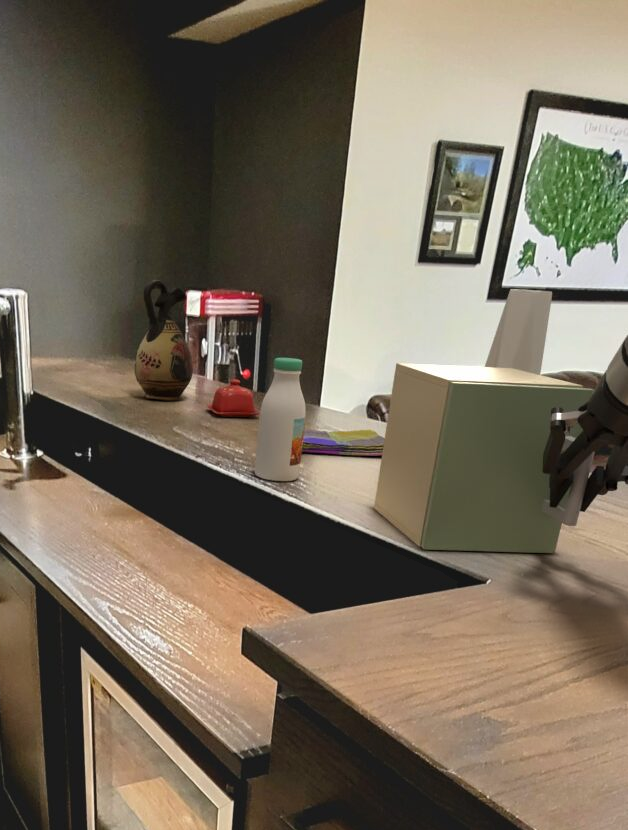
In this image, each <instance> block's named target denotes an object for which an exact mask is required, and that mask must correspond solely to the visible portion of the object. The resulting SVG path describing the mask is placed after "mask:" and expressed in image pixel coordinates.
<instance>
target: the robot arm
mask: <svg viewBox="0 0 628 830" xmlns="http://www.w3.org/2000/svg"><path fill="white" fill-rule="evenodd" d="M593 390H594V392H593V393H592V396H591V398H590V400H589V401H588V402H586V403H585V404H583V405H581V406H580V407H579V409H578V411H572V412H564V410H563V408H561V407H554V408H552V409H551V419H550V430H551V431H550V434H549V438H548V441H547V444H546V447H545V450H544V453H543V469H542V472H543V473H545V474H550V477H549V488H550V507H554V508H556V507H557V506H558V504H559V503H560V501H561V500H562V498H563V497H564V495H565V494H566V492H567V491H568V489H569V488H570V486H571V485H572V483H573V476H574V471H575V470H576V469H577V468H578V467H579V466H580V465H581V464H582V463H583V462H584V461H585V460H586V459H587V458H588V457H589V456H590V455H591V454H592V453H593V452H595V453H597V452H598V451H600V449H601V448H602V447H604V446H605V445H612V449H611V451H610V453H609V456H608V459H607V461H606V463H605V465H604V466H603V465H596V466H595V468H594V469H593V471H592V472H591V473H590V474H589V477H588V481H587V485H586V489H585V493H584V497H583V501H582V505H581V509H580V512H581V513H585V512H586V511H587V510H588V508H589V507H590V505H591V504H592V503H593V502H594V500H595V499H596V498H597V496H604V495H607V494H608V492H614V491H615V492H616V491H617V490H618V483H620V482H624V484H626V485H627V486H628V334H627V335H626V337H625V338H624V339H623V341H622V343H621V344H620V346H619V348H618V349H617V351H616V353H615V354H614V355H613V357H612V359H611V361H610V362H609V363H608V366H607V368H606V370H605V371H604V373H603V375H602V376H601V378H600V380H599V381H598V383H597V384H596V387H595V388H594V389H593ZM577 423H579V425H580V426H581V428H582V429H583V431H582V432H581V433H580V435H579V436H578V437H577V438H576V439H575V440H574V441H573V442H572V443H571V445H570V446H569V447H568V448H567V449H566V450H565V451H564V452H563V453H561V450H562V448H563V445H564V442H565V434H569V433H570V430H571V429H572V428H573V426H574V425H575V424H577ZM560 453H561V454H560Z"/></svg>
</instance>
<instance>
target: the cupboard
mask: <svg viewBox="0 0 628 830" xmlns="http://www.w3.org/2000/svg"><path fill="white" fill-rule="evenodd" d="M450 382H467V383H488V384H508V385H528V386H548V387H568V388H584V385H582V384H579V383H578V384H577V383H574V382H569V381H567V380H562V379H557V378H555V377H550V376H545V375H541V374H540V375H538V374H534V373H530V372H526V371H521V370H517V369H513V368H495V367H485V366H472V365H450V364H449V365H448V364H447V365H446V364H429V363H428V364H426V363H425V364H423V363H405V362H404V363H403V362H396V363H395V370H394V375H393V383H392V389H391V394H390V395H391V396H390V402H389V408H388V414H387V421H386V427H385V433H384V438H385V440H384V446H383V453H382V456H381V460H380V466H379V473H378V478H377V479H378V480H377V485H376V486H377V487H376V492H375V500H374V506H373V509H374V510H375V511H376V512H378V513H379V514H380V515H381V516H382V517H383V518H385V519H386V520H387V521H388V522H389V523H390V524H392V525H393V527H395V528H396V529H398V530H399V531H400V532H401V533H402V534H403V535H405V537H407V538H408V539H409V540H411V541H412V542H413V543H414V544H415V545H417V546H418V547H419V548H422V547H421V543H422V537H423V532H424V526H425V521H426V515H427V510H428V504H429V498H430V493H431V487H432V482H433V476H434V471H435V465H436V459H437V454H438V448H439V443H440V437H441V431H442V426H443V420H444V415H445V409H446V404H447V398H448V392H449V387H450Z"/></svg>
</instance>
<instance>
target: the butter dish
mask: <svg viewBox="0 0 628 830" xmlns="http://www.w3.org/2000/svg"><path fill="white" fill-rule="evenodd" d="M229 383H230V385H226V386H221V387H219V388H217V389H216V390H215V392H214V395H213V399H212V404H206V405H205V406H206V408H208V409H209V410H211V411H212V412H213V413H214V414H216V415H219V416H220V417H225V418H226V417H233V418H235V417H236V418H239V417H240V418H251V417H252V416H257V415H260V411H259V410H257V409H256V408H255V402H254V396H253V393H252V391H250V390H249V389H248V388H246V387H242V386H240V384H241V381H240V380H239V379H237V378H233V379H230V380H229Z"/></svg>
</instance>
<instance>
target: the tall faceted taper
mask: <svg viewBox="0 0 628 830" xmlns="http://www.w3.org/2000/svg"><path fill="white" fill-rule="evenodd" d="M552 298H553V291H550V290H535V289H534V290H532V289H519V288H517V289H516V288H510V290H509V292H508V295H507V298H506V301H505V304H504V307H503V309H502V312H501V315H500V319H499V322H498V325H497V328H496V331H495V334H494V337H493V340H492V343H491V345H490V349H489V352H488V356H487V358H486V361H485V364H484V367H495V368H513V369H517V370H521V371H526V372H530V373H534V374H538V375H541V372H542V367H543V361H544V360H543V359H544V352H545V346H546V341H547V340H546V339H547V333H548V332H547V331H548V325H549V318H550V314H551V313H550V312H551V305H552Z"/></svg>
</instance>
